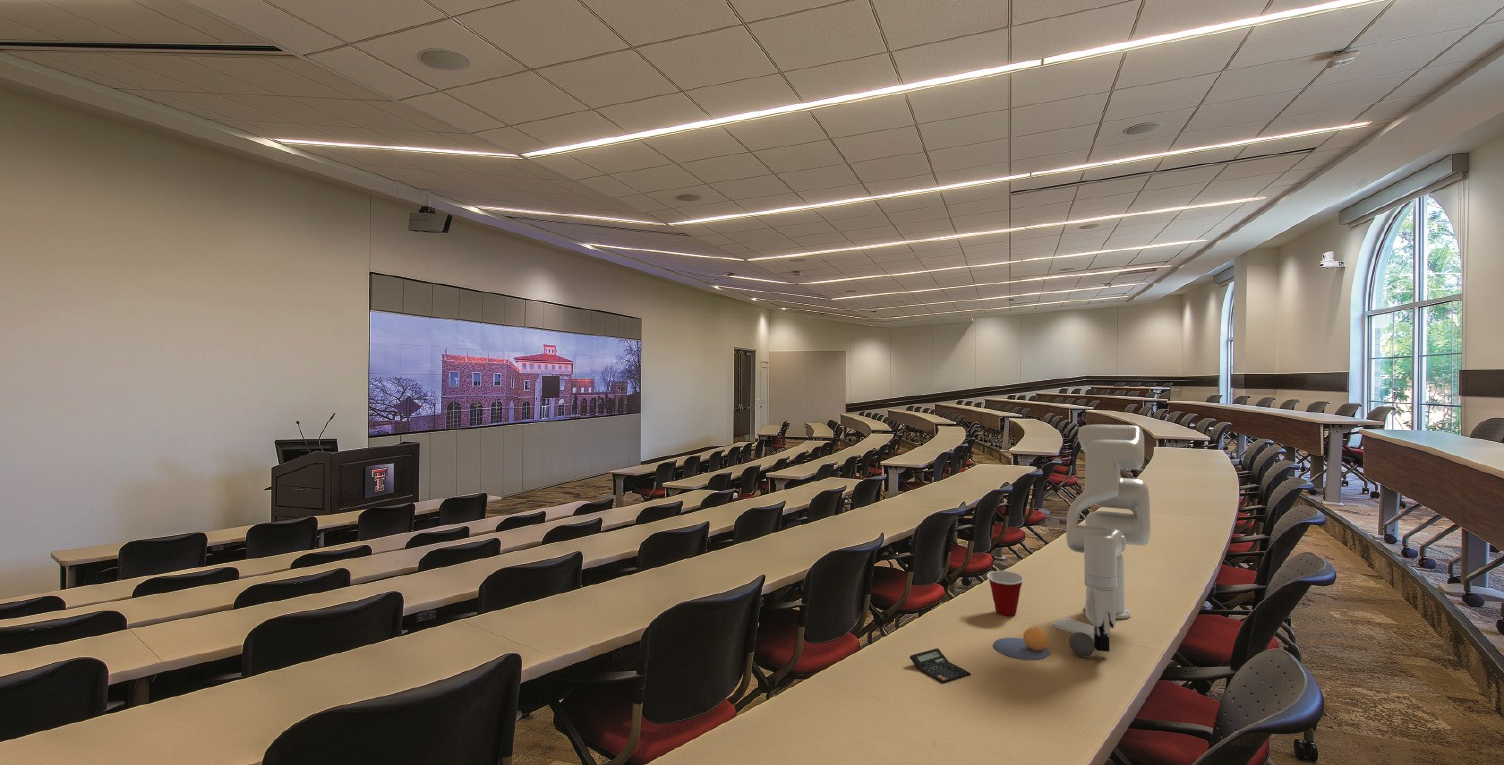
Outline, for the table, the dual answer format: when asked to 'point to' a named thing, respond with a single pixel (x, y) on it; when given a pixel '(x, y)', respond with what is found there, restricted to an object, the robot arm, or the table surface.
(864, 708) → the table surface
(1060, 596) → the table surface
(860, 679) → the table surface
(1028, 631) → the object ball
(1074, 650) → the gray ball
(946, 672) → the calculator
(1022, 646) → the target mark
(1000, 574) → the plastic cup
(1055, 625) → the hard drive
